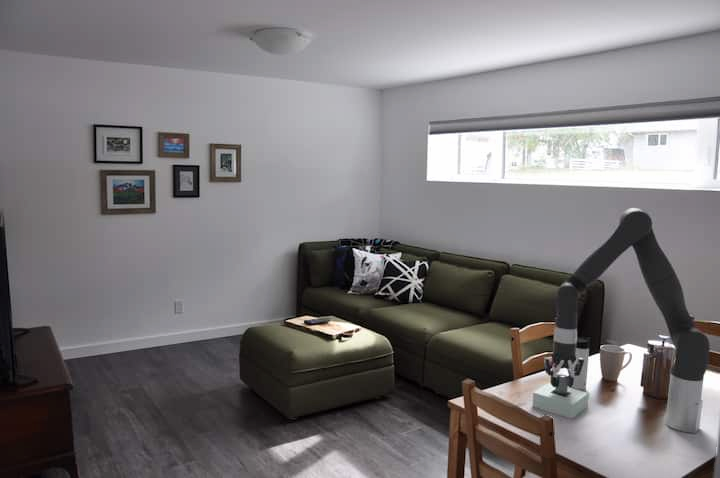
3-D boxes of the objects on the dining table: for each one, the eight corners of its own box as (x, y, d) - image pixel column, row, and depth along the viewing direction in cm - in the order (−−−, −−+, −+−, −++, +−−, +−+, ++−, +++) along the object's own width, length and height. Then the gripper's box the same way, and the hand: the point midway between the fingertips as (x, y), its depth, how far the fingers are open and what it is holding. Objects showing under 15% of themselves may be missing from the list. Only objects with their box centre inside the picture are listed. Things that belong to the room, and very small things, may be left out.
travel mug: (589, 392, 209) (593, 340, 207) (571, 391, 209) (575, 340, 207) (582, 385, 215) (587, 335, 213) (565, 385, 215) (569, 335, 213)
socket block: (587, 406, 196) (588, 393, 195) (571, 418, 186) (573, 404, 185) (549, 395, 205) (550, 382, 205) (532, 406, 195) (533, 392, 194)
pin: (568, 403, 195) (570, 376, 194) (563, 407, 192) (565, 379, 191) (557, 400, 198) (559, 373, 197) (552, 403, 195) (554, 376, 194)
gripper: (580, 336, 196) (576, 382, 199) (540, 336, 196) (537, 382, 198) (590, 343, 189) (586, 391, 191) (548, 342, 188) (545, 390, 190)
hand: (561, 386), depth 194 cm, fingers open, 5 cm apart
